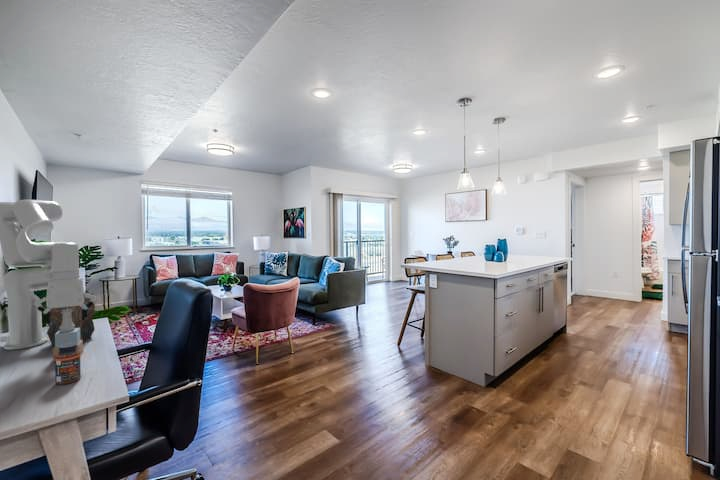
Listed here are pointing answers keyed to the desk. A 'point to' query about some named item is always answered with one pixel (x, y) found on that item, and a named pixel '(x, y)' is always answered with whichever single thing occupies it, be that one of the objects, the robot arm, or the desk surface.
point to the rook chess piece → (66, 321)
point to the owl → (84, 325)
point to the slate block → (67, 337)
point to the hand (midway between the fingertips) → (67, 321)
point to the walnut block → (79, 347)
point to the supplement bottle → (67, 364)
